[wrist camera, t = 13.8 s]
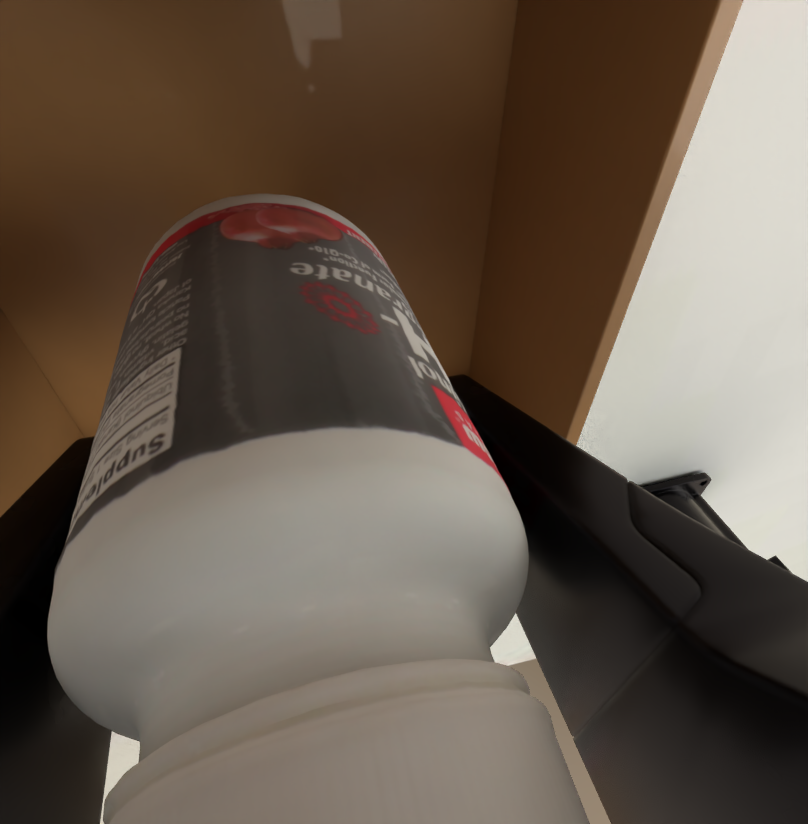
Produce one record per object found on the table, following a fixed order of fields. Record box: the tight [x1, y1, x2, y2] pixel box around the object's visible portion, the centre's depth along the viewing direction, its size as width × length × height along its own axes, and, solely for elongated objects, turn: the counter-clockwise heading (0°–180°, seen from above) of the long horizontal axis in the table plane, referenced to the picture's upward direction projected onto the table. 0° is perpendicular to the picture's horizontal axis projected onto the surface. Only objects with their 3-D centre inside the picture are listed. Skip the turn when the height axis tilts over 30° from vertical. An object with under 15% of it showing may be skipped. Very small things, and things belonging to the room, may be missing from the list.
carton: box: [0, 0, 743, 517], centre depth 11 cm, size 14×13×6 cm
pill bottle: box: [47, 194, 590, 824], centre depth 7 cm, size 5×5×10 cm
